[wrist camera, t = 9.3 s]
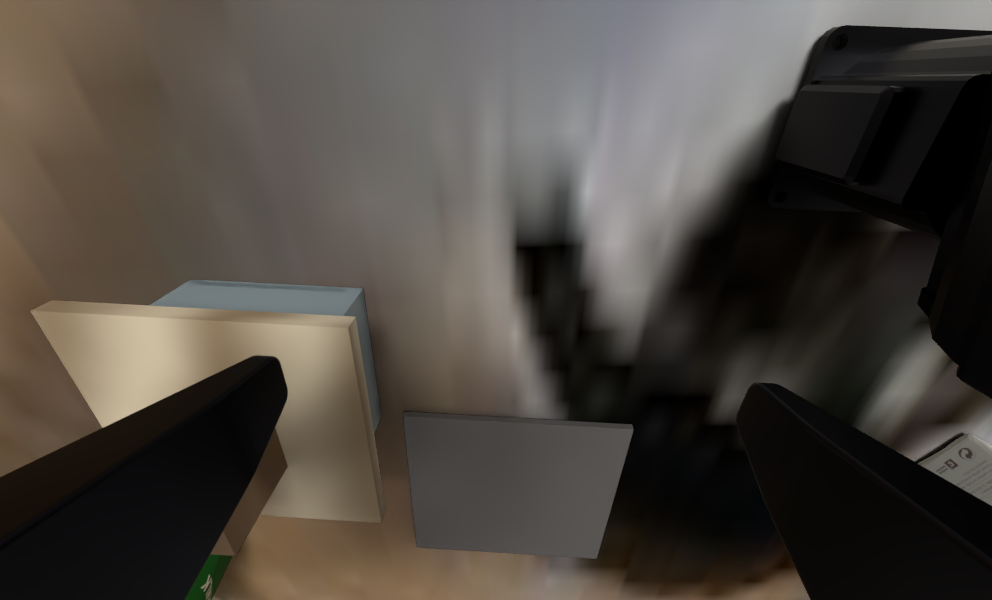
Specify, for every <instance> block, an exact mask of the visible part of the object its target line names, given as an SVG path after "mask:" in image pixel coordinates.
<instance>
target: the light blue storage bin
mask: <svg viewBox="0 0 992 600" xmlns="http://www.w3.org/2000/svg"><path fill="white" fill-rule="evenodd" d="M149 306H165V307H183V308H202V309H221V310H239V311H258V312H277V313H295V314H314V315H333V316H352V317H356V322H357V328H358V335H359V341H360V348H361V354H362V360H363V367H364V373H365V379H366V386H367V392H368V398H369V405H370V411H371V417H372V424H373V430H374V433H375V431H376V428H377V426H378V423H379V421H380V418H381V410H380V403H379V396H378V389H377V382H376V375H375V368H374V361H373V354H372V347H371V340H370V333H369V326H368V319H367V312H366V305H365V298H364V291H363V288H348V287H328V286H309V285H289V284H270V283H250V282H231V281H211V280H192V279H191V280H190V281H188V282H186V283H185V284H183V285H181V286H180V287H178V288H177V289H175V290H173V291H172V292H170V293H168V294H167V295H165V296H164V297H162V298H160V299H159V300H157V301H155V302H154V303H152V304H151V305H149Z"/></svg>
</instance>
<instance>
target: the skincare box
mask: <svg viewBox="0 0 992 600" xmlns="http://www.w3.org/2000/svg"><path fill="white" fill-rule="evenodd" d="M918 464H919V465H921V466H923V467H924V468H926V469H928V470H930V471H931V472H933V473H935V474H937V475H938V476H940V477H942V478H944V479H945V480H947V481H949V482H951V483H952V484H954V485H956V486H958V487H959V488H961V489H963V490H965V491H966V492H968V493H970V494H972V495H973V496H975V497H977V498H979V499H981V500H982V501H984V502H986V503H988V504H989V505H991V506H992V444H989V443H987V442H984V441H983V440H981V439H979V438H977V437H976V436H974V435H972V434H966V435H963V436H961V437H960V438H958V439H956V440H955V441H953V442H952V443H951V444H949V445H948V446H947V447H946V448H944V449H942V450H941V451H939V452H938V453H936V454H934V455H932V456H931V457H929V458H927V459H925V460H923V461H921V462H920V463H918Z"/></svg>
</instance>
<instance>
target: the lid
mask: <svg viewBox="0 0 992 600" xmlns="http://www.w3.org/2000/svg"><path fill="white" fill-rule="evenodd" d="M31 313H32V314H33V316H34V317H35V319H36V321H37V322H38V324H39V326H40V327H41V329H42V330H43V332H44V334H45V335H46V337H47V338H48V340H49V342H50V343H51V345H52V347H53V348H54V350H55V351H56V353H57V355H58V356H59V358H60V360H61V361H62V363H63V364H64V366H65V368H66V369H67V371H68V372H69V374H70V376H71V377H72V379H73V381H74V382H75V384H76V385H77V387H78V389H79V390H80V392H81V393H82V395H83V397H84V398H85V400H86V402H87V403H88V405H89V406H90V408H91V410H92V411H93V413H94V414H95V416H96V418H97V419H98V421H99V423H100V424H101V426H102V427H103V428H104V427H106V426H108V425H110V424H112V423H114V422H116V421H118V420H120V419H122V418H124V417H126V416H129V415H131V414H133V413H135V412H137V411H139V410H141V409H143V408H145V407H147V406H149V405H151V404H153V403H156V402H158V401H160V400H162V399H164V398H166V397H168V396H170V395H172V394H174V393H176V392H178V391H181V390H183V389H185V388H187V387H189V386H191V385H193V384H195V383H197V382H199V381H201V380H203V379H205V378H208V377H210V376H212V375H214V374H216V373H218V372H220V371H222V370H224V369H226V368H228V367H230V366H232V365H235V364H237V363H239V362H241V361H243V360H245V359H247V358H249V357H251V356H255V355H262V356H274V357H276V358H278V360H279V361H280V363H281V367H282V370H283V374H284V377H285V381H286V384H287V388H288V397H287V401H286V404H285V406H284V408H283V411H282V413H281V415H280V417H279V420H278V422H277V424H276V427H275V429H274V431H273V434H272V436H271V438H270V441H269V443H268V445H267V448H266V450H265V452H264V455H263V457H262V459H261V462H260V464H259V466H258V468H257V470H256V472H255V474H254V476H253V478H252V480H251V482H250V484H249V486H248V488H247V489H246V491H245V493H244V495H243V497H242V498H241V500H240V502H239V504H238V506H237V507H236V509H235V511H234V513H233V515H232V516H231V518H230V520H229V522H228V524H227V525H226V527H225V529H224V531H223V533H222V534H221V536H220V538H219V540H218V541H217V543H216V545H215V547H214V549H213V550H212V552H211V554H213V555H229V556H236V554H237V553H238V551H239V549H240V548H241V546H242V544H243V542H244V541H245V539H246V537H247V536H248V534H249V532H250V530H251V529H252V527H253V525H254V524H255V522H256V520H257V519H258V517H259V515H260V516H276V517H292V518H308V519H324V520H340V521H356V522H372V523H382V520H383V516H384V513H385V510H386V506H385V500H384V494H383V487H382V481H381V475H380V468H379V462H378V455H377V449H376V443H375V436H374V430H373V424H372V417H371V411H370V405H369V398H368V392H367V386H366V379H365V373H364V367H363V360H362V354H361V348H360V341H359V335H358V328H357V322H356V317H352V316H333V315H314V314H295V313H277V312H258V311H239V310H221V309H202V308H183V307H165V306H146V305H127V304H109V303H90V302H71V301H53V300H52V301H50V302H48V303H46V304H44V305H42V306H39V307H37V308H35V309H33V310H31Z"/></svg>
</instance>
